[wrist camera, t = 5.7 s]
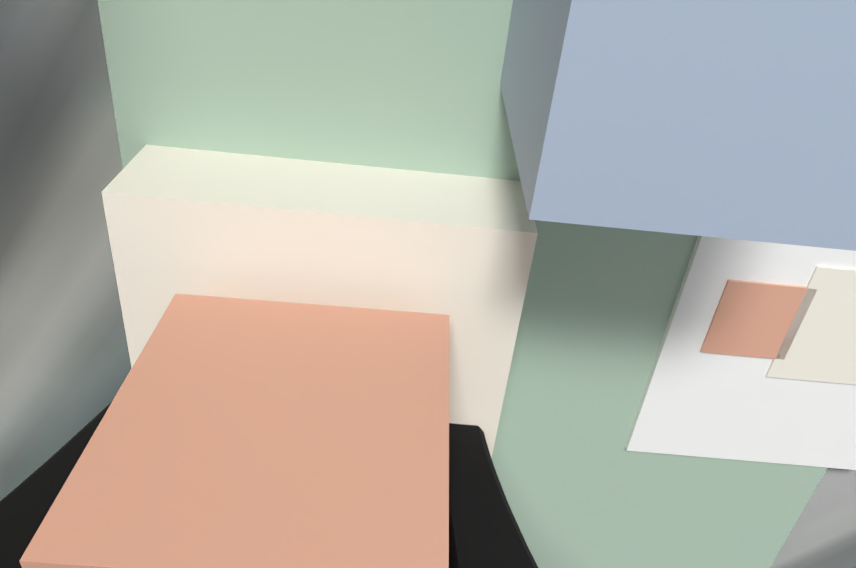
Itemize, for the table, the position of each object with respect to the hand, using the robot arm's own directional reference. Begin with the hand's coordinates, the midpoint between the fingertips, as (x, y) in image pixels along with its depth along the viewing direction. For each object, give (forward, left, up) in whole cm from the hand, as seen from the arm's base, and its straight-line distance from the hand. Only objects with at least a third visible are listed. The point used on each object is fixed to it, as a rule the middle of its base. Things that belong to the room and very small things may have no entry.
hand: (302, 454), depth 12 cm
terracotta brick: (0, 0, -1) cm, 1 cm away
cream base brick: (0, 0, -4) cm, 4 cm away
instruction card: (-10, -1, -4) cm, 11 cm away
